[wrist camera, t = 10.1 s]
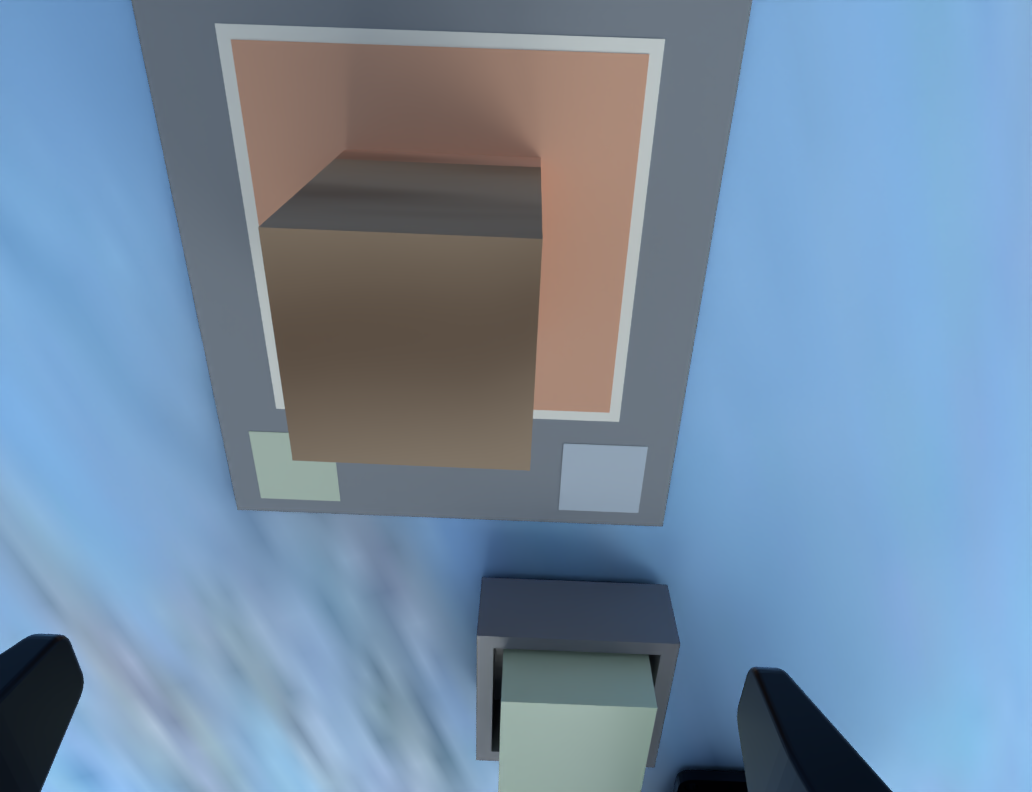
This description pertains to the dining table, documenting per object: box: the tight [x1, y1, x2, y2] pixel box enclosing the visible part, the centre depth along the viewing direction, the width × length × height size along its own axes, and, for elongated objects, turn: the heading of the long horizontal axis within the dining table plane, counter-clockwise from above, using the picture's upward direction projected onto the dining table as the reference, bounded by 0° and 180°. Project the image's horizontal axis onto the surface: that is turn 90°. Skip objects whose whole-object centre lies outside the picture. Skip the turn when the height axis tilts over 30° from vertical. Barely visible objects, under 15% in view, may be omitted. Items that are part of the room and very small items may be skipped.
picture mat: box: [131, 0, 752, 526], centre depth 18 cm, size 13×15×1 cm
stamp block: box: [258, 149, 543, 471], centre depth 15 cm, size 4×4×6 cm
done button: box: [498, 649, 657, 792], centre depth 22 cm, size 4×4×2 cm
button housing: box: [476, 577, 680, 767], centre depth 24 cm, size 6×6×2 cm
